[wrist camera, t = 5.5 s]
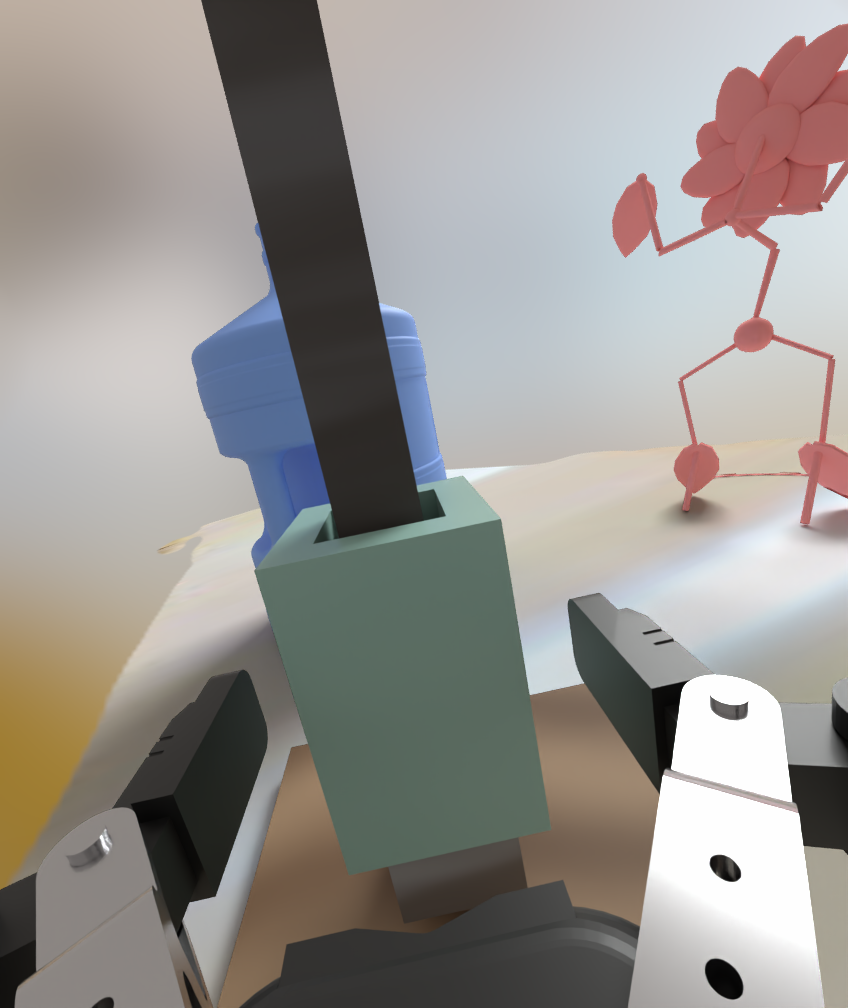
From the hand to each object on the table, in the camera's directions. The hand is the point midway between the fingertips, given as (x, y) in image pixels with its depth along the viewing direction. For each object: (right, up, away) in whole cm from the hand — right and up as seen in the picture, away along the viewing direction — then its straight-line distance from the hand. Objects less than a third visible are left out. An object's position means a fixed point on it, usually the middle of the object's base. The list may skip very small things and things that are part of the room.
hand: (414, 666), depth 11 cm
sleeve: (+1, -4, +2) cm, 4 cm away
